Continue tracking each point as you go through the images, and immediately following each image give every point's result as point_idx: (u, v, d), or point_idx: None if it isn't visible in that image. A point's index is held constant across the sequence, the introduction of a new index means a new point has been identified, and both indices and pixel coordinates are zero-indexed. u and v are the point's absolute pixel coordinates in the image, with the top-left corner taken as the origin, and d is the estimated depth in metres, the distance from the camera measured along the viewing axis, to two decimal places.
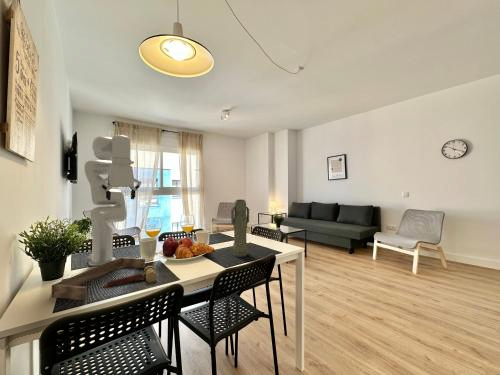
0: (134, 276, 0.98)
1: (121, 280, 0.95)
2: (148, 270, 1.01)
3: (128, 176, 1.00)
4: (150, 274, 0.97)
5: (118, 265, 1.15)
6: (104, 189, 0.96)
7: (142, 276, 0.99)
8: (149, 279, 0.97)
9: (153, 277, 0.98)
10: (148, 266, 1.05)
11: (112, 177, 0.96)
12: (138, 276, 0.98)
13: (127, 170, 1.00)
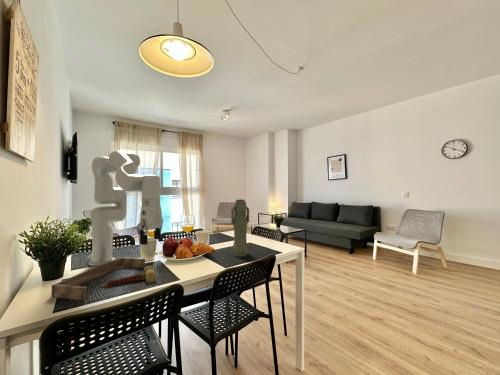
0: (134, 276, 0.97)
1: (121, 280, 0.95)
2: (148, 270, 1.01)
3: None
4: (150, 274, 0.97)
5: (118, 265, 1.15)
6: None
7: (142, 276, 0.99)
8: (149, 279, 0.97)
9: (153, 277, 0.98)
10: (148, 266, 1.05)
11: None
12: (138, 276, 0.98)
13: None
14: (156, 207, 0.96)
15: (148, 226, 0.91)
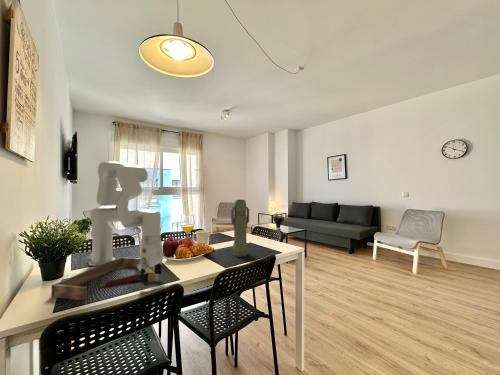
0: (132, 276, 0.97)
1: (119, 280, 0.95)
2: None
3: None
4: (148, 274, 0.97)
5: (118, 265, 1.15)
6: (160, 262, 1.02)
7: None
8: None
9: (151, 277, 0.98)
10: None
11: None
12: (136, 276, 0.98)
13: None
14: (156, 243, 0.95)
15: (149, 264, 0.90)
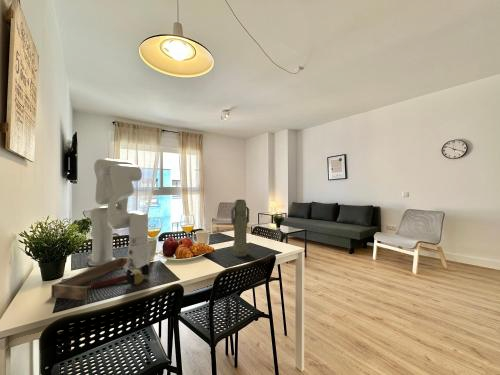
0: (119, 277, 0.95)
1: (106, 282, 0.93)
2: (134, 271, 0.99)
3: None
4: (136, 275, 0.95)
5: (118, 265, 1.15)
6: (147, 263, 1.03)
7: None
8: (135, 280, 0.95)
9: (139, 278, 0.96)
10: None
11: None
12: (124, 277, 0.96)
13: None
14: (144, 245, 0.96)
15: (135, 266, 0.92)
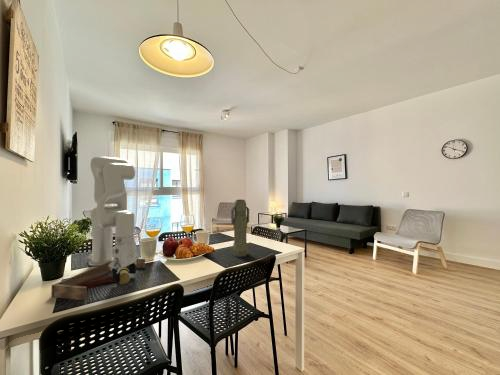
0: (106, 278, 0.95)
1: (92, 282, 0.92)
2: (121, 272, 0.99)
3: None
4: (122, 276, 0.95)
5: None
6: (135, 262, 1.04)
7: None
8: (121, 281, 0.95)
9: (126, 279, 0.96)
10: (122, 268, 1.03)
11: None
12: (110, 278, 0.96)
13: None
14: (130, 244, 0.98)
15: (121, 264, 0.93)
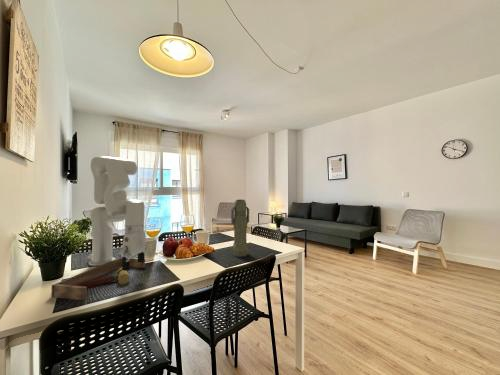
0: (106, 278, 0.95)
1: (91, 282, 0.92)
2: (121, 272, 0.99)
3: None
4: (122, 276, 0.95)
5: (118, 265, 1.15)
6: (143, 251, 1.04)
7: (114, 278, 0.97)
8: (121, 281, 0.95)
9: (125, 279, 0.96)
10: None
11: None
12: (110, 278, 0.96)
13: None
14: (139, 233, 0.97)
15: (130, 253, 0.92)
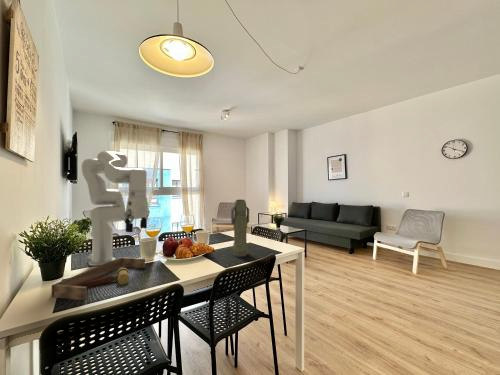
0: (105, 278, 0.95)
1: (91, 283, 0.92)
2: (120, 272, 0.99)
3: None
4: (122, 276, 0.95)
5: (118, 265, 1.15)
6: None
7: (114, 278, 0.97)
8: (121, 281, 0.95)
9: (125, 279, 0.96)
10: (121, 268, 1.03)
11: None
12: (109, 278, 0.96)
13: None
14: (142, 198, 1.04)
15: (133, 215, 0.99)
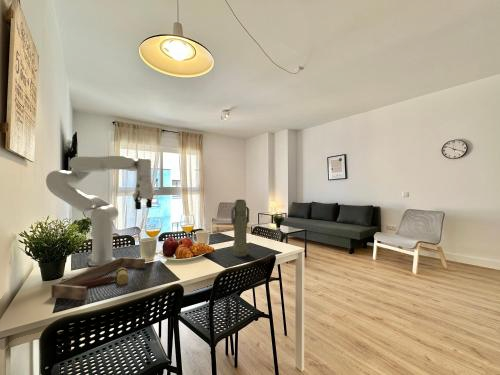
0: (104, 278, 0.95)
1: (90, 283, 0.92)
2: (120, 272, 0.99)
3: None
4: (121, 276, 0.95)
5: (118, 265, 1.15)
6: None
7: (113, 278, 0.97)
8: (120, 281, 0.95)
9: (124, 279, 0.96)
10: (120, 268, 1.03)
11: None
12: (109, 278, 0.96)
13: None
14: (147, 182, 1.27)
15: (141, 195, 1.22)
